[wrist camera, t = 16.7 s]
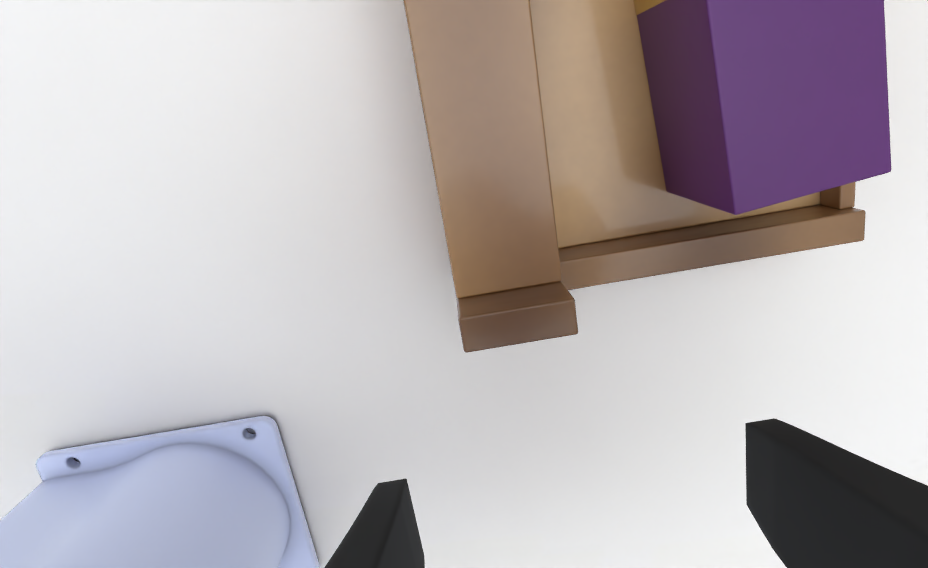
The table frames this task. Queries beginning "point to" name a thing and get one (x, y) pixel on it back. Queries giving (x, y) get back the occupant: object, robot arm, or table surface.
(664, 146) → the chocolate bar
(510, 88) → the tray
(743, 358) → the table surface
